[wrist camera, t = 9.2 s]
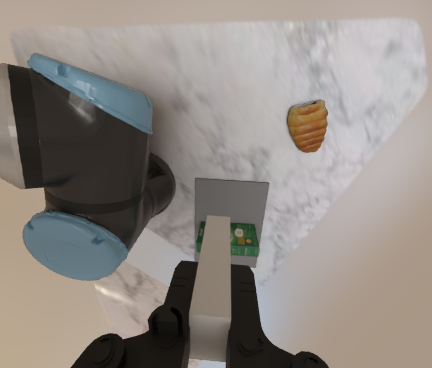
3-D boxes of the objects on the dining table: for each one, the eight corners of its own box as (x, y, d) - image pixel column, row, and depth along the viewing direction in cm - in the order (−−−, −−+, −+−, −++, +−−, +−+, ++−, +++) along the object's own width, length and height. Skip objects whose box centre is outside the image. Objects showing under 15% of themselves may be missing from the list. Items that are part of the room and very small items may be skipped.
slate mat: (195, 261, 53) (194, 262, 53) (195, 178, 44) (195, 178, 43) (255, 266, 53) (255, 267, 52) (268, 182, 43) (269, 183, 43)
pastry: (325, 146, 40) (334, 150, 36) (291, 154, 41) (296, 160, 37) (321, 96, 36) (331, 96, 33) (283, 107, 38) (289, 108, 34)
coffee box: (253, 232, 49) (199, 230, 49) (254, 222, 47) (199, 220, 48) (258, 258, 41) (195, 254, 42) (260, 247, 40) (195, 244, 40)
